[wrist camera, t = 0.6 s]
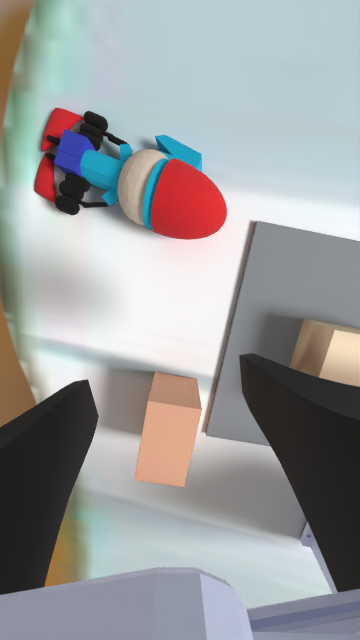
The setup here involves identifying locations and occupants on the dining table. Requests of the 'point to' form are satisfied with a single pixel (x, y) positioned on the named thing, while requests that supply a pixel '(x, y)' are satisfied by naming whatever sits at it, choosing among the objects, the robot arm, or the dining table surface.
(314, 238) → the build plate
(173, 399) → the terracotta brick
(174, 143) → the toy figure
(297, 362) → the oak brick
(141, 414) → the dining table surface
